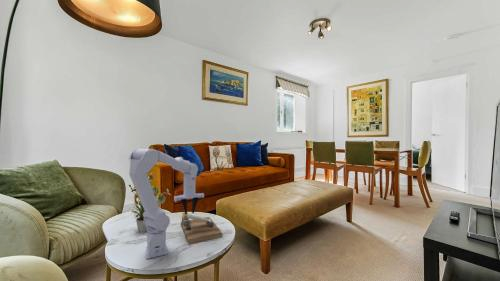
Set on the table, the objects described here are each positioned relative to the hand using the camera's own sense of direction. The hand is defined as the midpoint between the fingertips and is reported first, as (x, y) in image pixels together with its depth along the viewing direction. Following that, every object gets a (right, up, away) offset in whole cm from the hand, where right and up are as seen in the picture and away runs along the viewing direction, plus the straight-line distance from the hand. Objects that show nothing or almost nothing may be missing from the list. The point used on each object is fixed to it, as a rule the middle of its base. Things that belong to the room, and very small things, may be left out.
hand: (189, 213), depth 101 cm
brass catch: (-4, -5, +7) cm, 9 cm away
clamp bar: (+4, -5, +2) cm, 7 cm away
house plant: (-24, -10, +1) cm, 26 cm away
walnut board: (+5, -10, +3) cm, 11 cm away
